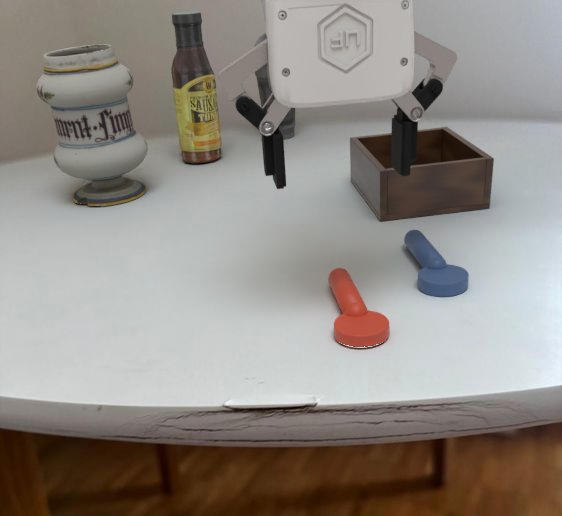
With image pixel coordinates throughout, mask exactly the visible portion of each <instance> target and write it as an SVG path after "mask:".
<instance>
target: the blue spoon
mask: <svg viewBox="0 0 562 516" xmlns="http://www.w3.org/2000/svg"><path fill="white" fill-rule="evenodd" d="M403 242H404V246H405V247H406V248H407V249H408V251H409V252H410V253H411V255H412V256H413V258H414V259H415V260H416V261H417V263H418V264H419V266H420V267H421V268H420V270H419V271H418V273H417V288H418V290H419V291H420V292H422V293H424V294H425V295H429V296H433V297H440V298H441V297H443V298H444V297H454V296H459V295H461V294H463V293H465V292H466V291H468V290H467V289H468V287H469V277H470V276H469V272H468V270H467V269H465V268H463V267H461V266H459V265H454V264H448V263H447V261H446V260H445V259H444V257H443V256H442V254H440V253H439V251H438V250H437V249H436V247H435V246H434V245H433V244H432V243H431V242H430V241H429V239H428V238H427V237H426V235H424V234H423V232H421V231H420V230H418V229H410V230H409V231H407V232H406V233H405V235H404V238H403Z"/></svg>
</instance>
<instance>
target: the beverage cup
mask: <svg viewBox="0 0 562 516" xmlns="http://www.w3.org/2000/svg"><path fill="white" fill-rule="evenodd" d="M260 1H261V5H262V6H261V7H262V12H263V17H264V22H265V24H266V0H260ZM265 39H266V32H264V33H263V34H262V35H260V36H259V37H258V38H257V40H256V42H255V43H254V45H253V48H254V47H255V46H257V45H258V44H259V43H261V42H262V41H264V40H265ZM254 75H255V77H256V82H257V83H256V84H257V89H258V95H259V101H260V104H261V105H260V107H261V108H262V107H263V106H264V104H265V103H266V101H267V100H268V98H269V97H270V95H271V94H272V91H271V89H270V87H269V82H268V74H267V64H266V65H264V66H263V67H261V68H260V69H258V70H257V71H255V72H254ZM295 127H296V108H292V107H291V109H290V110H289V111H288V113H287V114H286V116H285V117H284V119H283V120H282V122H281V123H280V125H279V130H280V132H281V133H282V135H283V140H288V139H292V138H293V137H295Z"/></svg>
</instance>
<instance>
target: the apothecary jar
mask: <svg viewBox="0 0 562 516" xmlns="http://www.w3.org/2000/svg"><path fill="white" fill-rule="evenodd" d="M115 53H116V52H115V49H114V47H113V45H112V44H105V43H99V44H88V45H87V44H86V45H78V46H72V47H66V48H60V49H55V50H51V51H48V52H46V53H44V54H43V57H42V59H43V60H42V61H43V73H42V74H41V75H40V76H39V78H38V80H37V83H36V94H37V96H38V97H39V98H40V100H41V101H42V102H43V103H45V104H47V105H48V106H50V109H51V113H52V116H53V121H54V125H55V128H56V133H57V138H58V143H57V144H56V146H55V148H54V151H53V161H54V164H55V166H56V167H57V168H58V169H59V170H60V171H61V172H62V173H64V174H66V175H68V176H70V177H71V178H72V177H73V178H76V179H80V180H88V181H91V182H88V183H86V184H85V185H84V186H82V187H80V188H78V189H77V190H75V191H74V193H73V195H72V197H71V198H72V201H73V203H75V204H76V203H77V204H76V205H86V204H87V205H86V206H88V207H90V206H101V207H109V206H116V205H121V204H125V203H126V204H127V203H129V202H133V201H135V200H137V199H139V198H141V197H142V196H143V195H145V193H146V192H147V186H146V184H144V183H143V182H141V181H139V180H135V179H132V178H129V177H123V175H126V174H128V173H130V172H132V171H133V170H135V169H137V168H138V167H139V166H140V165H141V164H142V163H143V162H144V160H145V158H146V157H147V154H148V150H149V148H148V143H147V140H146V139H145V137H144V136H143V135H142V134H141V133H140V132H139V131H137V130H136V129H135V126H134V122H133V119H132V115H131V109H130V104H129V100H128V94H129V93H130V92H131V90H132V89H133V87H134V76H133V74H132V72H131V70H130V69H129V68H128V67H127V66H125V65H124V64H122V63H121V62H119V60H118V58H117V55H116V54H115ZM80 203H81V204H80Z"/></svg>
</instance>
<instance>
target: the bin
mask: <svg viewBox="0 0 562 516" xmlns="http://www.w3.org/2000/svg"><path fill="white" fill-rule="evenodd" d="M391 134H392V132H389V133H388V132H387V133H379V134H370V135H362V136H353V137H349V157H350V158H349V159H350V160H349V161H350V162H349V165H350V183H351V184H352V185H353V186H354V187H355V189H356V190H357V192H358V193H359V195H360V196H361V197H362V199H363V200H364V201H365V203H366V204H367V205H368V207H369V208H370V210H371V211H372V212H373V214H374V215H375V217H377V219H378V221H379V222H387V221H394V220H395V221H396V220H404V219H412V218H420V217H428V216H437V215H445V214H453V213H461V212H462V213H463V212H470V211H478V210H479V211H480V210H486V209H487V210H488V209H490V208H491V197H492V186H493V174H494V162H495V161H494V160H495V158H494V157H492V155H490V154H488V153H487V152H486V151H484V150H482V149H481V148H479V147H477V146H476V145H475V144H473V143H472V142H470V141H469V140H467V139H466V138H464V137H463V136H461V135H460V134H459V133H457V132H456V131H454V130H452V129H451V128H450V127H448V126H441V127H433V128H423V129H418V133H417V157H416V161H411V165H410V175H409V176H402V175H400V174H399V173H398V172H397V171H396V170H395V169H394V168H393V167H392V166H391Z"/></svg>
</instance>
